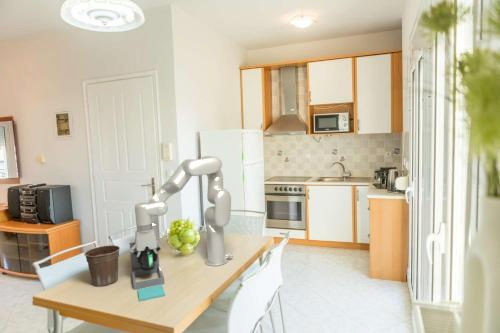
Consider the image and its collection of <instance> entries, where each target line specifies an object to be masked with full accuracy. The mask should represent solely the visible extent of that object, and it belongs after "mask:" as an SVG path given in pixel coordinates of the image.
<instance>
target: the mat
mask: <svg viewBox="0 0 500 333" xmlns="http://www.w3.org/2000/svg"><path fill="white" fill-rule="evenodd" d="M137 294H138V300H139V302H143V301H146V300H147V301H148V300H152V299H157V298H161V297H166V292H165V290H164V287H163V284H161V285H156V286H151V287H145V288H140V289H137Z"/></svg>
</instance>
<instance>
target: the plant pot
mask: <svg viewBox="0 0 500 333" xmlns="http://www.w3.org/2000/svg"><path fill="white" fill-rule="evenodd" d="M120 250H121V247H120V246H119V245H102V246H101V245H100V246H97V247H93V248H90V249H87V250H86V251H85V252H84V254H83V255H84V256H85V260H86V263H87V265H88V270H89V275H90V279H91V284H92V285H93V286H94V287H105V286H108V285H110V284H114V283H116V282H117V281H118V280H119V256H120Z"/></svg>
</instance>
